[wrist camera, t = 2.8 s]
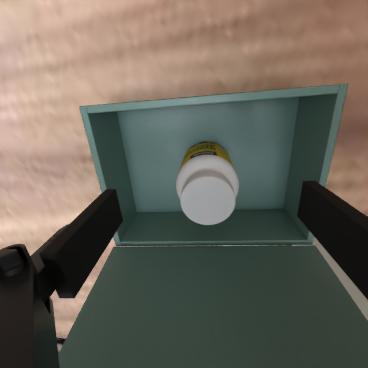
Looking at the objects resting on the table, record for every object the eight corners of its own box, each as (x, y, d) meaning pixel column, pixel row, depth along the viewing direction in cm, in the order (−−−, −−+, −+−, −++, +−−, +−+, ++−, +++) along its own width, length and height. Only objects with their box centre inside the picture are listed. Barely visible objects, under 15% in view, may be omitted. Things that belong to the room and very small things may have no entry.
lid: (-37, 537, 8) (-27, 537, 8) (590, 640, 6) (569, 635, 6) (113, 246, 21) (115, 251, 21) (315, 245, 19) (314, 250, 19)
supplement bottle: (215, 130, 21) (225, 152, 13) (237, 170, 23) (260, 215, 14) (173, 154, 23) (156, 190, 14) (197, 191, 25) (195, 243, 16)
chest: (112, 104, 22) (78, 106, 16) (303, 88, 20) (348, 83, 14) (134, 213, 27) (115, 246, 21) (286, 210, 25) (312, 245, 19)
